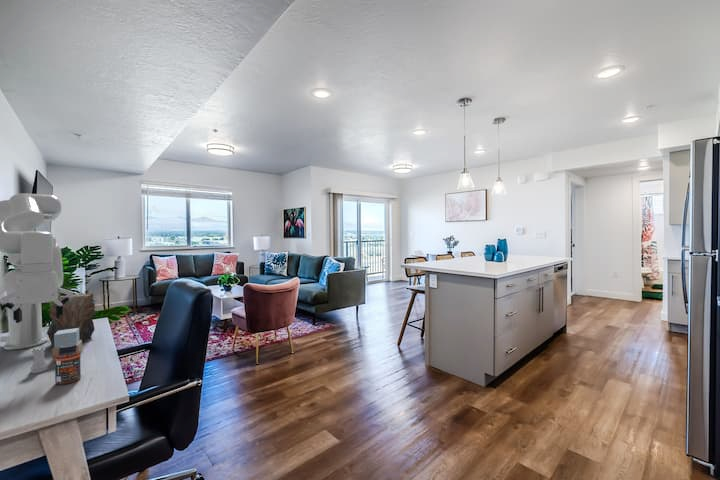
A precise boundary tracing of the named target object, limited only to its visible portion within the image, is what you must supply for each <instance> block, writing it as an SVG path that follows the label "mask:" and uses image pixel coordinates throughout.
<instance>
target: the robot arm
mask: <svg viewBox="0 0 720 480" xmlns="http://www.w3.org/2000/svg"><path fill="white" fill-rule="evenodd" d="M61 212H62V203H61V200H60V199H59V198H58V197H57V196H55V195H52V194H42V193H41V194H40V193H26V192H25V193H16V194H13V195H12V196H10V198H9V199H3V200H0V253H1V254H6V255H7V259H8V262H9V263H10V264H11V265H12V266H14V269H13V270H10V271H8V272H6V273H5V275H4V277H3V285H4V288H5V292H6V295H5V296H3V297H0V301H1V302H2V304H3V305H4V306H5V307H6V308H7V315H8V317H7V319H8V335H2V336H0V343H4V342H5V344H4V345H3V349H4V350H8V351H9V350H10V351H12V350H15V351H16V350H21V349H29V348H34V347H37V346H40V345H43V344H46V343H47V342H48V341H49V340H48V338H49V337H46V336H43V322H42V321H43V317H42V304H45V303H52V302H53V303H56V304H57V307H56V318H60V317H61V315H63V305H64V304H65V303H66V302H67V301H68V300H69V299H70V298H71V296H72V295H74V291H72V290H68V289H65V288H63V287H62V286H63V284H64V270H63V269H64V267H63V258H62V257H63V256H62V249H61V247H60V245H58V244H57V240H56V239H57V238H56V236H55V235H53V233H52V232H49V231H38V230H37V229H39V228H41V227H42V226H43V225H44V223H45V222H52V221H55V220H56V219H57V218H58V217H59V216H60V214H61ZM36 230H37V231H36ZM61 294H64V295H65V296H66V297H65V299H63V300H61V299H60V298H59V297H60V296H61Z"/></svg>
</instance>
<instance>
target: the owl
mask: <svg viewBox="0 0 720 480" xmlns="http://www.w3.org/2000/svg"><path fill="white" fill-rule="evenodd" d="M65 297H66V295H60V297H59V298H60V299H61V300H63V299H65ZM93 299H94V293H92V292H91V293H75V294H74V293H73V295H72V296H71V298H70V299H69V300H68V301H67V302H66V303H65V304H64V305H63V315H61V317H60V318H56V307H57V304H56V303H54V302H53V303H52V305H51V306H50V309H49V313H48V314H49V318H51V322H50V323H49V326H48V329H47V332H46V335H47V336H48V338H49V342H50V346H51V345H52V346H53V347H54V334H55V333H56V332H57V331H59V330H66V329H74V328H79V339H80V340H82V343H85V342H86V340H87V341H89V340H91V339H92V336H93V333H94V331H95V329H96V328H95V324H94V320H93V317H94V313H95V312H96V310H95V307H96V305H95V302H94V300H93ZM84 341H85V342H84ZM52 346H51V347H52Z"/></svg>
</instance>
